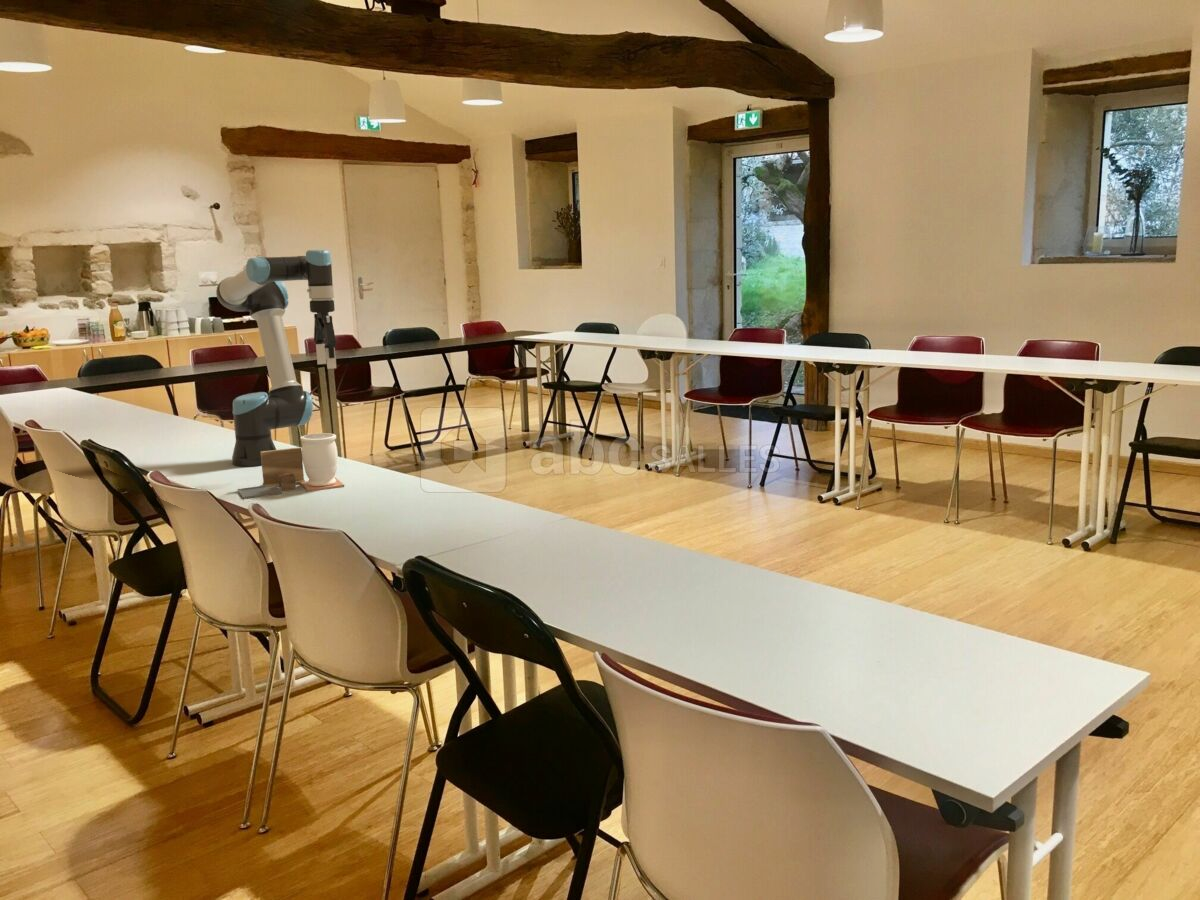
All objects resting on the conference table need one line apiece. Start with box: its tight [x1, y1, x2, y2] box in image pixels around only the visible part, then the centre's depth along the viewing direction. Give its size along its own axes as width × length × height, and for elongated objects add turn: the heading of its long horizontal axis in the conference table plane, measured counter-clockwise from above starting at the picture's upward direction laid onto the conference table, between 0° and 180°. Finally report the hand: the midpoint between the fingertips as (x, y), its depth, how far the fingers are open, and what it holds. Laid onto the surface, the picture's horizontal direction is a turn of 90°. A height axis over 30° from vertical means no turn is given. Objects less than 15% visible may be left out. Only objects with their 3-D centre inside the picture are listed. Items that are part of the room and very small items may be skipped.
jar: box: [300, 432, 339, 486], centre depth 307 cm, size 11×10×15 cm
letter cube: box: [279, 473, 297, 492], centre depth 305 cm, size 4×4×4 cm
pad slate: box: [236, 485, 283, 500], centre depth 301 cm, size 11×11×1 cm
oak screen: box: [261, 446, 306, 488], centre depth 310 cm, size 5×12×11 cm, turn 118°
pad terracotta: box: [299, 477, 345, 492], centre depth 309 cm, size 11×11×1 cm
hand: (326, 366), depth 320 cm, fingers open, 13 cm apart
